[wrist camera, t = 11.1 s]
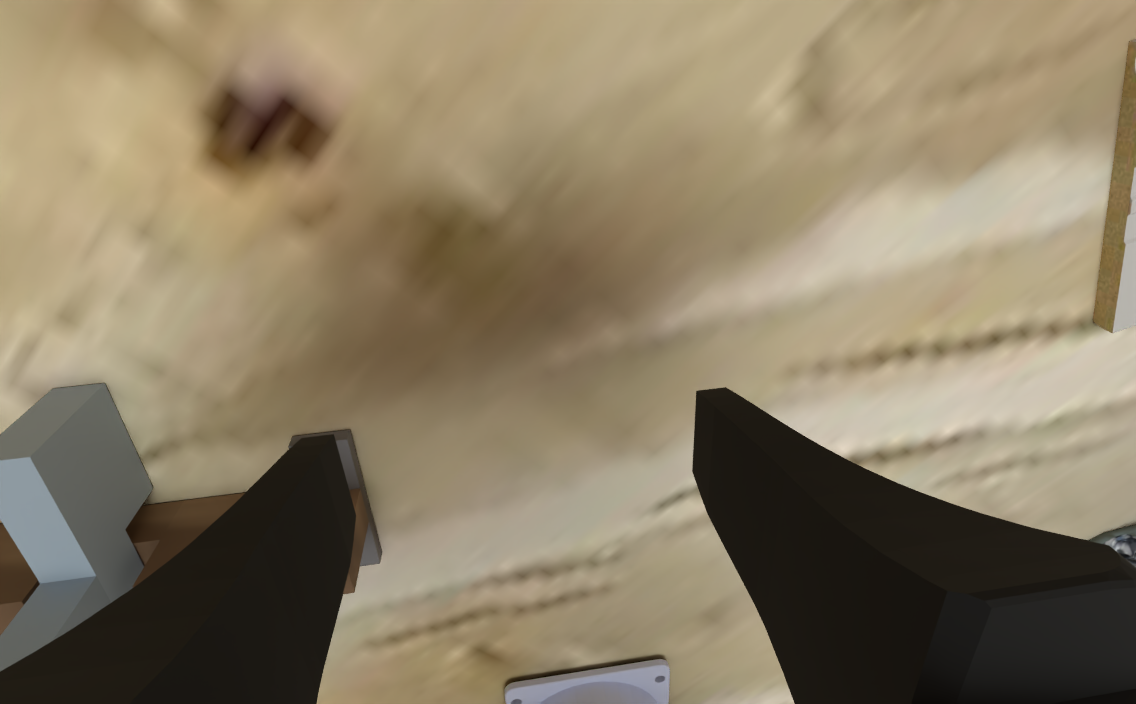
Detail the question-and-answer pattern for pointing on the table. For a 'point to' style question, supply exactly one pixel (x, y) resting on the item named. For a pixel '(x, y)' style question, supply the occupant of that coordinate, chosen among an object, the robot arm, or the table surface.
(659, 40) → the table surface
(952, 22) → the table surface
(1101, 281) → the baseboard molding
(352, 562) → the walnut slotted plate
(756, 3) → the table surface
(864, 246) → the table surface
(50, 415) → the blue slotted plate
